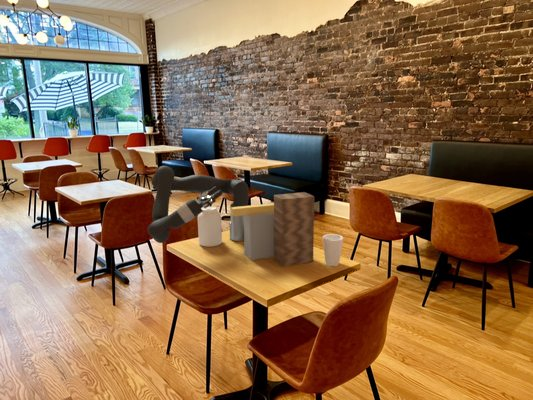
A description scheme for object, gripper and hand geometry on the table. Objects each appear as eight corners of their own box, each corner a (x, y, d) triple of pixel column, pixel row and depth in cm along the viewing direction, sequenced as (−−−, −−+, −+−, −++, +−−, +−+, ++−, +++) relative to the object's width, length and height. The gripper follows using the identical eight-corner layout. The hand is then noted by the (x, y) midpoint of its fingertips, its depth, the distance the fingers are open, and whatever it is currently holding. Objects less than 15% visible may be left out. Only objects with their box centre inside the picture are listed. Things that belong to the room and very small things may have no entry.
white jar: (212, 248, 209) (211, 211, 204) (194, 244, 215) (192, 208, 210) (226, 241, 219) (225, 206, 215) (208, 238, 225) (207, 203, 221)
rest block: (250, 260, 192) (249, 216, 187) (244, 253, 202) (243, 211, 197) (281, 255, 198) (281, 212, 193) (273, 249, 207) (273, 208, 202)
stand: (282, 266, 184) (282, 199, 177) (274, 259, 193) (273, 194, 186) (313, 261, 190) (314, 196, 182) (303, 254, 199) (304, 192, 192)
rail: (233, 216, 188) (232, 209, 187) (231, 214, 191) (230, 207, 190) (283, 210, 197) (283, 204, 196) (281, 209, 200) (281, 202, 199)
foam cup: (318, 261, 190) (318, 235, 187) (334, 258, 194) (335, 233, 191) (329, 268, 181) (329, 241, 178) (346, 265, 185) (347, 238, 182)
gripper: (187, 207, 171) (218, 186, 173) (182, 200, 184) (211, 180, 186) (197, 221, 173) (227, 199, 176) (191, 213, 186) (219, 193, 189)
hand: (219, 190), depth 181 cm, fingers open, 8 cm apart
